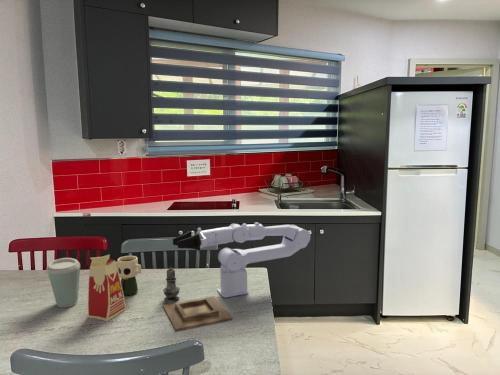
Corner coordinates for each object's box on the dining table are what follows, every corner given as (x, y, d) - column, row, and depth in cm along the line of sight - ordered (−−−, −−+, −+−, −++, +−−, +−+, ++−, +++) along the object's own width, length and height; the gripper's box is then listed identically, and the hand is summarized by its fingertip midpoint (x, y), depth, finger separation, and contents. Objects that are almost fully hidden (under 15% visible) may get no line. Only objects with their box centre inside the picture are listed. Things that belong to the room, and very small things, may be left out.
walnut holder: (214, 297, 142) (214, 292, 142) (232, 319, 126) (232, 313, 125) (163, 306, 135) (163, 301, 135) (175, 331, 118) (175, 324, 118)
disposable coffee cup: (88, 303, 138) (85, 261, 136) (56, 314, 130) (52, 269, 128) (75, 295, 145) (72, 255, 143) (43, 304, 137) (40, 262, 135)
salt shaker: (176, 303, 138) (175, 269, 136) (160, 302, 139) (159, 268, 137) (182, 296, 143) (181, 264, 142) (167, 295, 144) (166, 263, 143)
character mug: (110, 294, 145) (108, 260, 143) (122, 287, 152) (120, 254, 150) (136, 298, 142) (134, 263, 140) (147, 290, 148) (146, 257, 146)
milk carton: (126, 309, 133) (123, 251, 130) (108, 321, 125) (104, 259, 122) (104, 305, 136) (100, 248, 133) (84, 317, 128) (80, 256, 125)
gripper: (206, 224, 148) (169, 229, 143) (218, 227, 134) (178, 234, 129) (208, 242, 148) (172, 249, 143) (220, 248, 135) (181, 255, 129)
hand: (175, 243), depth 136 cm, fingers open, 7 cm apart
